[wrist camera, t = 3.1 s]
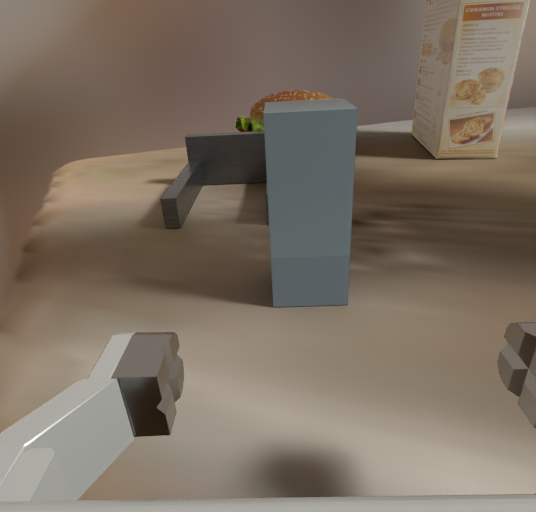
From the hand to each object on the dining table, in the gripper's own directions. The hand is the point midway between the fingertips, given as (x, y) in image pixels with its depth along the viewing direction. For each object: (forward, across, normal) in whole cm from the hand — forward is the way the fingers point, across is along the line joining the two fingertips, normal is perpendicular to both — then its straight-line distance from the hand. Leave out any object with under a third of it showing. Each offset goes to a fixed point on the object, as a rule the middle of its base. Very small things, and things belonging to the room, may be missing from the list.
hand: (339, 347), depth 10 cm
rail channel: (+27, +6, +6) cm, 28 cm away
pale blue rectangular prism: (+12, 0, +6) cm, 13 cm away
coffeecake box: (+46, -21, +6) cm, 51 cm away
